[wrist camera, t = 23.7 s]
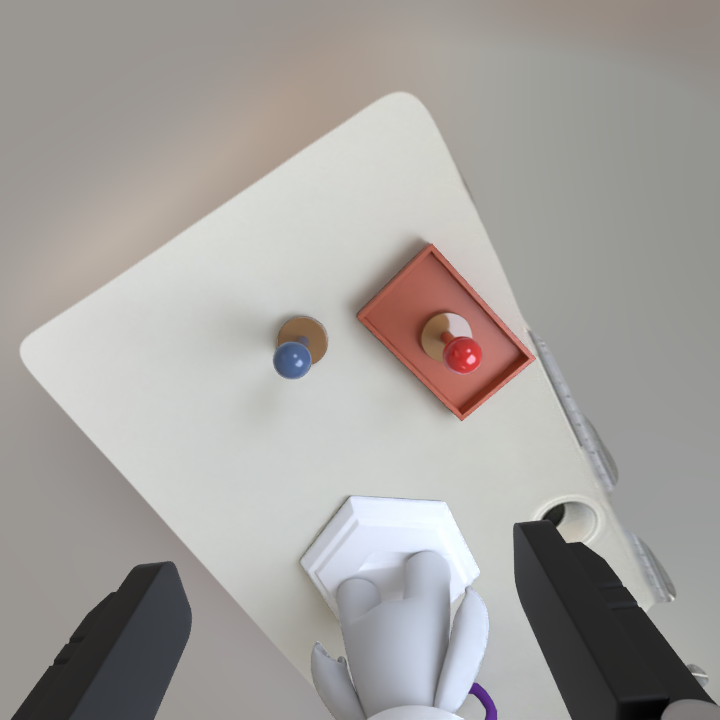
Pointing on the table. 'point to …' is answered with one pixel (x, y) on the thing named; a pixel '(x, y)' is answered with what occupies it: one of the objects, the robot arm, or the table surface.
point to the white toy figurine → (397, 611)
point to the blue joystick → (299, 346)
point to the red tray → (433, 295)
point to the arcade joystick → (451, 342)
